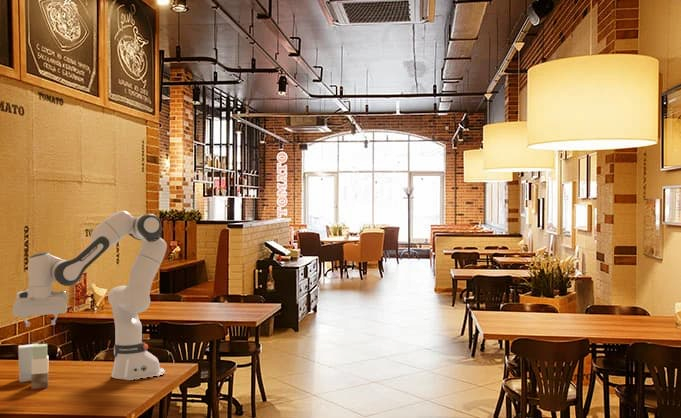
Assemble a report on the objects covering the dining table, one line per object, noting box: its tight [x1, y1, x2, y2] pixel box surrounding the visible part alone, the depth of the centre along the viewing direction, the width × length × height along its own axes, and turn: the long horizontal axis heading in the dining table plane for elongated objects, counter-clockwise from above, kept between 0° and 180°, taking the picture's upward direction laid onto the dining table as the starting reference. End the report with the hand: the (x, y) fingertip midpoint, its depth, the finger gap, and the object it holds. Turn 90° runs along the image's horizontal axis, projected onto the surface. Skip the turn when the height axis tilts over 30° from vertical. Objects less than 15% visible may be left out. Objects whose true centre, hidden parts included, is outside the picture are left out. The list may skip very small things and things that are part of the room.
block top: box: [32, 354, 50, 374], centre depth 265 cm, size 6×6×6 cm
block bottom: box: [30, 372, 49, 390], centre depth 265 cm, size 6×6×6 cm
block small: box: [33, 343, 48, 359], centre depth 265 cm, size 5×5×5 cm
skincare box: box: [17, 342, 39, 383], centre depth 275 cm, size 8×6×15 cm
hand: (40, 325), depth 265 cm, fingers open, 8 cm apart
